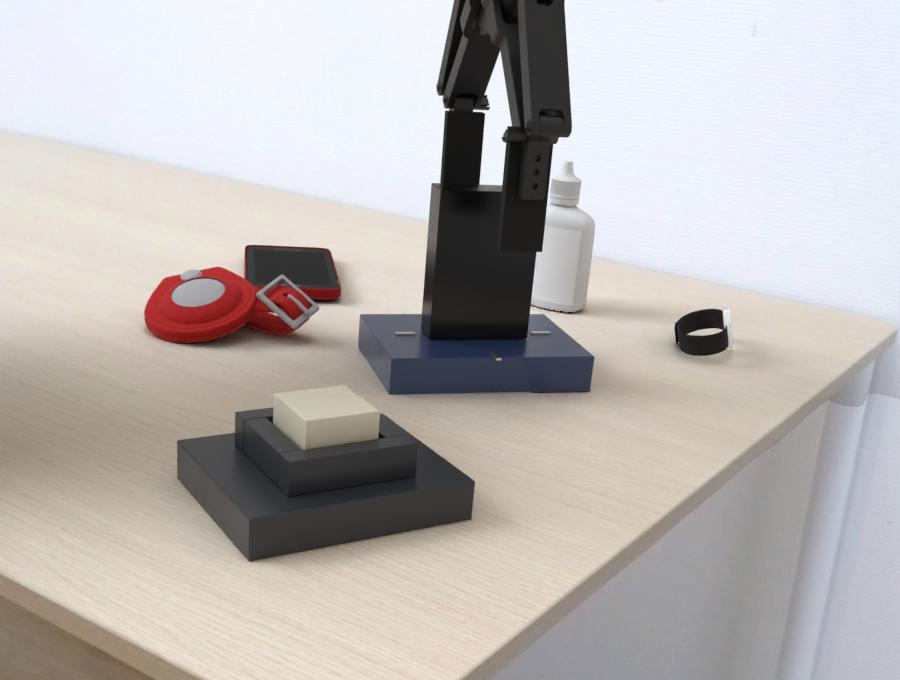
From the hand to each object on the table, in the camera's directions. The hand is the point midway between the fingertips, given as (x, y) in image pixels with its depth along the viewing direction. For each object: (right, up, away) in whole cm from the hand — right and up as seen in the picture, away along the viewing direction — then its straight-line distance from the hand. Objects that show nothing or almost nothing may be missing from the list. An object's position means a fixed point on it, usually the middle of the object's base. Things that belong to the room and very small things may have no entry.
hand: (486, 227), depth 78 cm
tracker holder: (-19, -6, +7) cm, 21 cm away
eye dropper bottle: (+6, -3, +21) cm, 22 cm away
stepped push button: (-9, -17, -18) cm, 27 cm away
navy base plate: (-1, -9, +4) cm, 10 cm away
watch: (+17, -7, +13) cm, 23 cm away
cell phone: (-16, 0, +22) cm, 28 cm away
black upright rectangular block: (-1, -7, +3) cm, 7 cm away
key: (-9, -14, -19) cm, 25 cm away
